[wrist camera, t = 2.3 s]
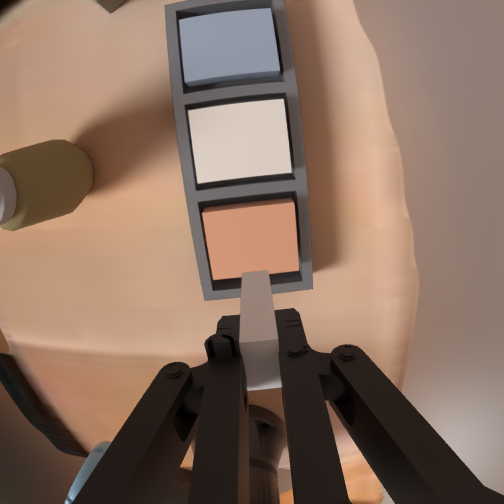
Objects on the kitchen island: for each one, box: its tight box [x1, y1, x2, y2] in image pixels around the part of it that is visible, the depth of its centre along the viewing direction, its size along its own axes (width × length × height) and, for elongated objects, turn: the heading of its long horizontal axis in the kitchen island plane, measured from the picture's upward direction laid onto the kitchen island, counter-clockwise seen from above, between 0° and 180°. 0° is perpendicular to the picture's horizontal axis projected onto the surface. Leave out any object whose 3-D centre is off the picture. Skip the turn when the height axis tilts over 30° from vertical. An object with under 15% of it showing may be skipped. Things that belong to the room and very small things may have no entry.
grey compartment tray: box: [165, 0, 313, 301], centre depth 27 cm, size 30×11×4 cm, turn 6°
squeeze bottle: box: [0, 140, 94, 231], centre depth 21 cm, size 8×8×18 cm
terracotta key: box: [202, 198, 299, 280], centre depth 28 cm, size 6×8×2 cm
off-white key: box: [188, 99, 292, 184], centre depth 25 cm, size 6×8×2 cm
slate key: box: [179, 8, 280, 87], centre depth 22 cm, size 6×8×2 cm
